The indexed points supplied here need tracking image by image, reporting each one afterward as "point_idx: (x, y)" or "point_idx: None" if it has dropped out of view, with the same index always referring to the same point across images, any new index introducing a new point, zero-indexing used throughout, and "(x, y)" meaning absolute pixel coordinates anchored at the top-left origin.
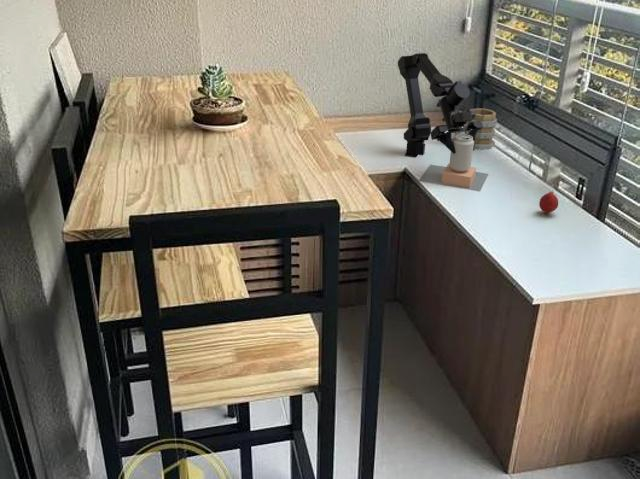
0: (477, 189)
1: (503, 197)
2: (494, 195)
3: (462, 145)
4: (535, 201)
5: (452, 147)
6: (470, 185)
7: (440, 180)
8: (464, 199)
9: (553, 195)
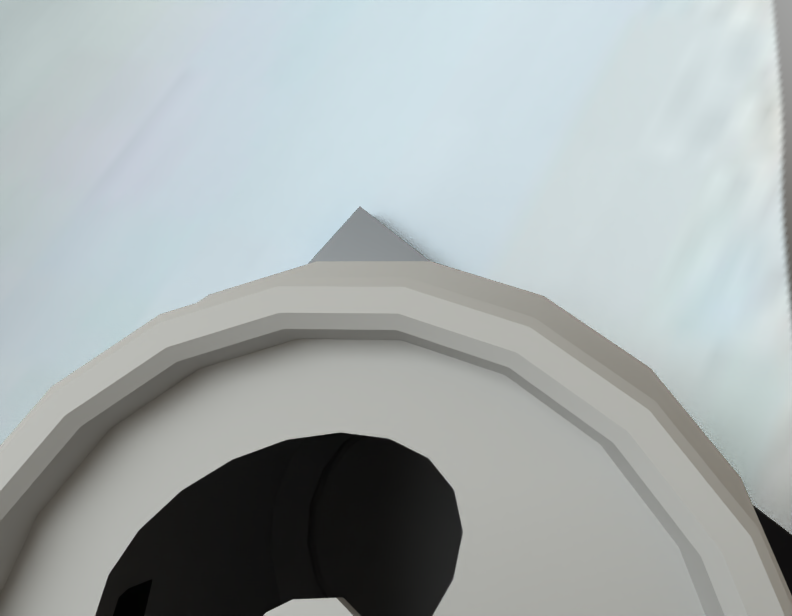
0: (359, 248)
1: (214, 120)
2: (258, 167)
3: (562, 319)
4: (41, 18)
5: (789, 534)
6: None
7: None
8: (550, 148)
9: None
